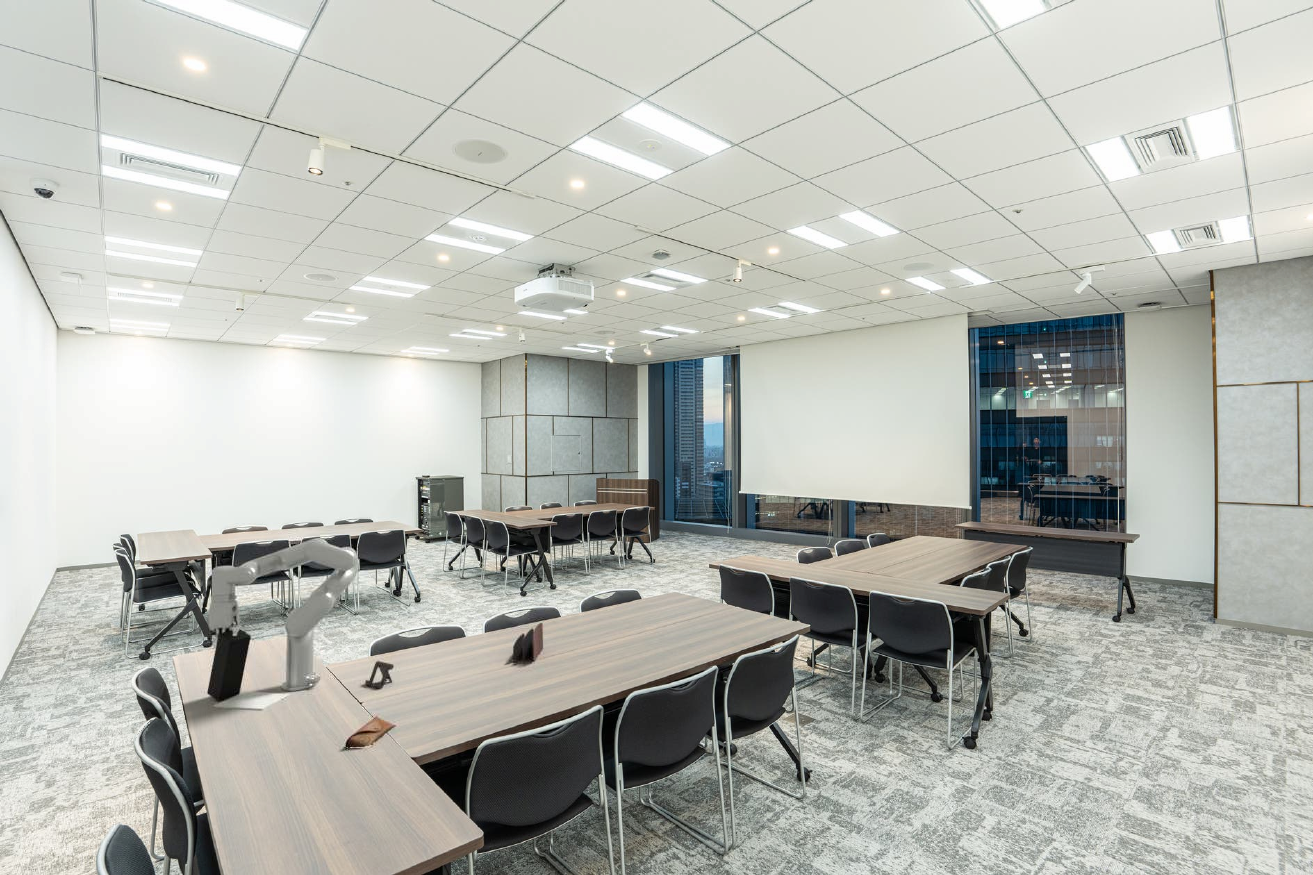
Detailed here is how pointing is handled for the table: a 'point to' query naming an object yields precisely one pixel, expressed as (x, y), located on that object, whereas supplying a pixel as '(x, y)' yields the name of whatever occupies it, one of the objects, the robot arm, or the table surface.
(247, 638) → the black rectangular box
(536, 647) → the letter holder
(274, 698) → the white mat
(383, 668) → the portable electronic device stand
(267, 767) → the table surface
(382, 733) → the sunglasses case
